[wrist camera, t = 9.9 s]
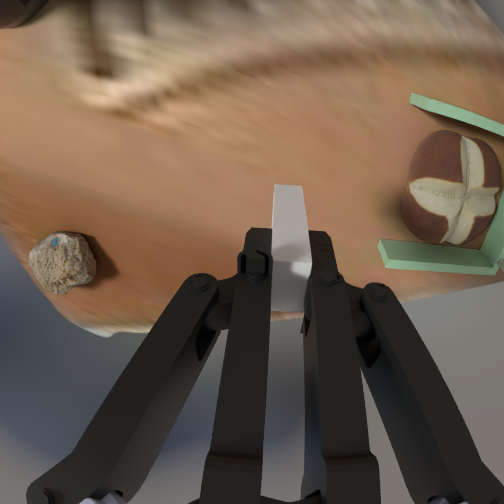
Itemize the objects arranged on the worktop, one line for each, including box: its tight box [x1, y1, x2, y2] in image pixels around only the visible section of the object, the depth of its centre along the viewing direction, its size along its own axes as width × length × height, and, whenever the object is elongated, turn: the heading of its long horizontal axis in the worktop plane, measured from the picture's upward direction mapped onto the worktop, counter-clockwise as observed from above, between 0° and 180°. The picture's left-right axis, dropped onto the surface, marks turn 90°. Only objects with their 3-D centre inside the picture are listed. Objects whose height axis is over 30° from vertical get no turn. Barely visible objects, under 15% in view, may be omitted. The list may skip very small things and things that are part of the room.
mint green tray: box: [378, 93, 504, 276], centre depth 19 cm, size 16×15×16 cm
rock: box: [29, 231, 97, 295], centre depth 33 cm, size 8×11×4 cm
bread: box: [402, 130, 501, 245], centre depth 23 cm, size 11×11×5 cm
